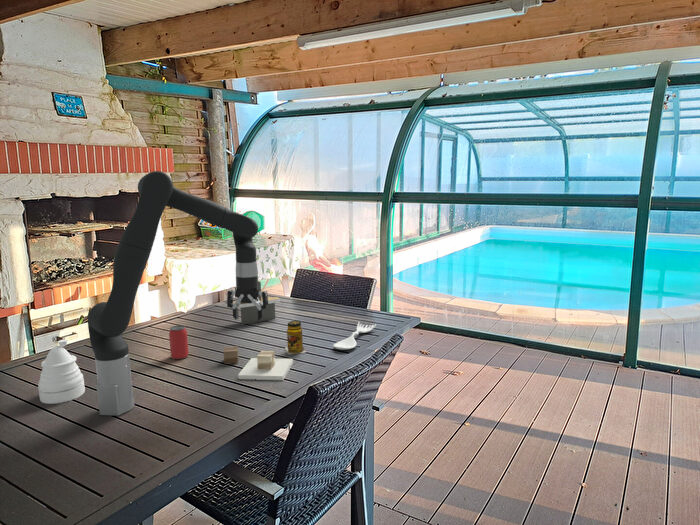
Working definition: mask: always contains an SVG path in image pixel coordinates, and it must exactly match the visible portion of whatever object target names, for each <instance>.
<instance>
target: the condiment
mask: <svg viewBox="0 0 700 525" xmlns="http://www.w3.org/2000/svg"><path fill="white" fill-rule="evenodd" d="M286 336H287V337H286V339H287V342H286V344H287V346H286V347H284V349H285V351H286V353H287V356H288V355H297V354H304V353H307V351H306V349H305V348H304V347H305V346H304V344H303V328H302V322H301V321H300V320H292V321H288V323H287V329H286Z"/></svg>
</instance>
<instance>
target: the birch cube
mask: <svg viewBox="0 0 700 525" xmlns="http://www.w3.org/2000/svg"><path fill="white" fill-rule="evenodd" d="M275 355H276V354H275V350H260V352H259V353H258V354H257V356H256V358H257V365H258V369H269V370H271V369H272V368H273V366H274V365H275V358H276V357H275Z"/></svg>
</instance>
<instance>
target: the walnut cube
mask: <svg viewBox="0 0 700 525" xmlns="http://www.w3.org/2000/svg"><path fill="white" fill-rule="evenodd" d="M239 358H240V356H239V346H238V345H235V346H224V348H223V363H224V365H228V364H229V365H230V363H233V364H238V363H239Z"/></svg>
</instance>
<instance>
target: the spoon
mask: <svg viewBox="0 0 700 525" xmlns="http://www.w3.org/2000/svg"><path fill="white" fill-rule="evenodd" d="M376 327H377V324H376V323H375V324H372V325H371V324H370V325H368V324H366V325H365V324H363V323H361V322H360V321H358V323H357V325H356V331H353V332H351V335H349V337H346V338H344V339H342V340H340V341H338V342H335V343H334V344H332V346H333V348H335V349H337V350H345V351H346V350H352V349H353V348H356V347H357V341H356V339H355V336H358V335H359V334H366V333H369V332H371V331H372V330H373V329H375V328H376Z"/></svg>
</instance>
